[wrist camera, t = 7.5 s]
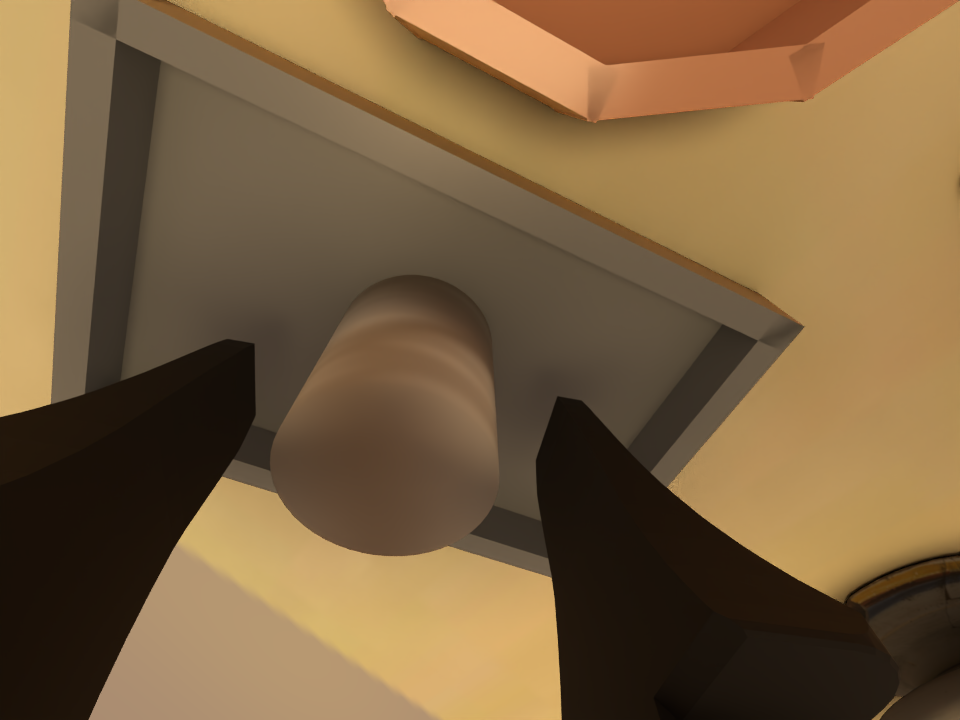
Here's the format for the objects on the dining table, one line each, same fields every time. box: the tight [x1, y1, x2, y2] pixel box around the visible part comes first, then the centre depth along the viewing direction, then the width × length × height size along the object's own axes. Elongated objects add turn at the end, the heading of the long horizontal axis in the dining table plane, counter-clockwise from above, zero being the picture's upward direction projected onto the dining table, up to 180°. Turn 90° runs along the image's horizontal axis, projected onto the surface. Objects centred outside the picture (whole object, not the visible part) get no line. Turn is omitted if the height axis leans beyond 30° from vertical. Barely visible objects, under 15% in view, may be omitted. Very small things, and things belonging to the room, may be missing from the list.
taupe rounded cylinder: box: [270, 275, 499, 556], centre depth 12 cm, size 4×4×6 cm
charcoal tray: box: [51, 0, 804, 577], centre depth 14 cm, size 17×11×2 cm, turn 65°
